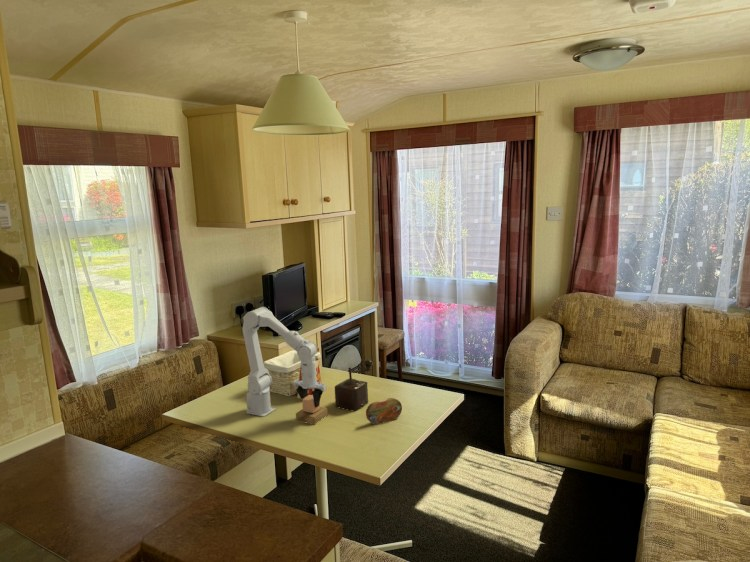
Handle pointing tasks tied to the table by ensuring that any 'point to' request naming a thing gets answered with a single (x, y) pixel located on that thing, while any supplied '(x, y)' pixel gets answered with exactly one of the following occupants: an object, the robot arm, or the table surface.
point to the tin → (383, 410)
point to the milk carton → (316, 376)
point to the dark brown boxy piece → (352, 391)
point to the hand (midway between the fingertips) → (311, 405)
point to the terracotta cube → (309, 404)
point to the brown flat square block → (311, 415)
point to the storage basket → (285, 372)
